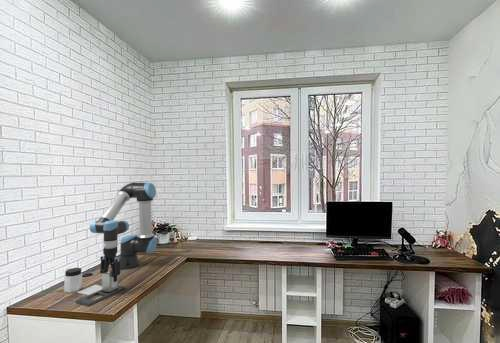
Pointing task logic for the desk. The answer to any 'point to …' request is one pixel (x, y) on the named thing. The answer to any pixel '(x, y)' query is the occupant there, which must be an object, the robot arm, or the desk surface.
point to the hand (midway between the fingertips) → (109, 286)
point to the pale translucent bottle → (108, 281)
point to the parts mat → (90, 290)
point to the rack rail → (89, 302)
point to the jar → (72, 280)
